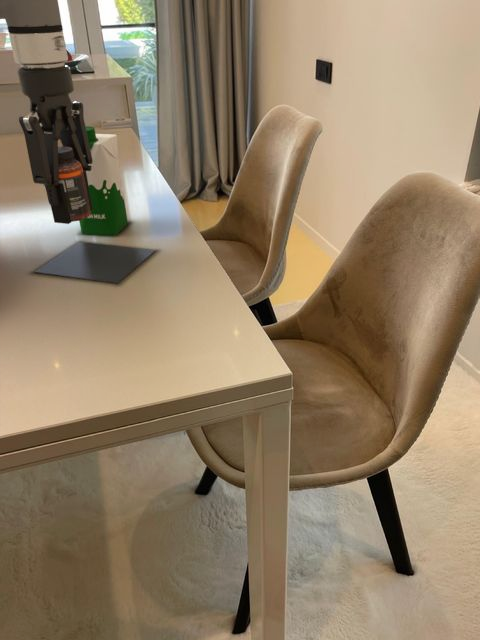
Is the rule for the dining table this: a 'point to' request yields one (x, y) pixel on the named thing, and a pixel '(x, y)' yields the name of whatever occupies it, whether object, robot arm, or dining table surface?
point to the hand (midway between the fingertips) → (73, 215)
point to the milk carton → (104, 187)
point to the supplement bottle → (73, 184)
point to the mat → (96, 262)
